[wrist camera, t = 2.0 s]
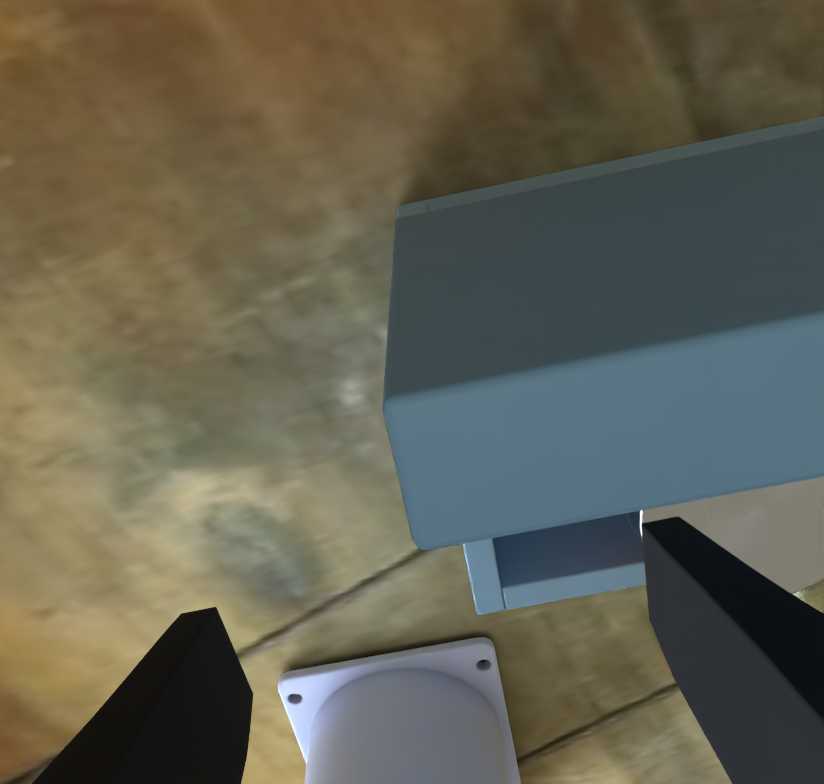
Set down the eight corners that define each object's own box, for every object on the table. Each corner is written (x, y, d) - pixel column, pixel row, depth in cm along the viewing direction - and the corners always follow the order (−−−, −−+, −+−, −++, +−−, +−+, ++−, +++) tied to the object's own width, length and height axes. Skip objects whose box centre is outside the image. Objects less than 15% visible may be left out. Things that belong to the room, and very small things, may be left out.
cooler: (842, 454, 22) (943, 532, 18) (461, 525, 22) (477, 616, 18) (866, 106, 17) (1007, 106, 13) (395, 205, 18) (398, 234, 14)
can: (740, 442, 20) (886, 582, 14) (571, 474, 21) (646, 624, 15) (740, 277, 18) (912, 361, 12) (552, 315, 19) (630, 415, 13)
